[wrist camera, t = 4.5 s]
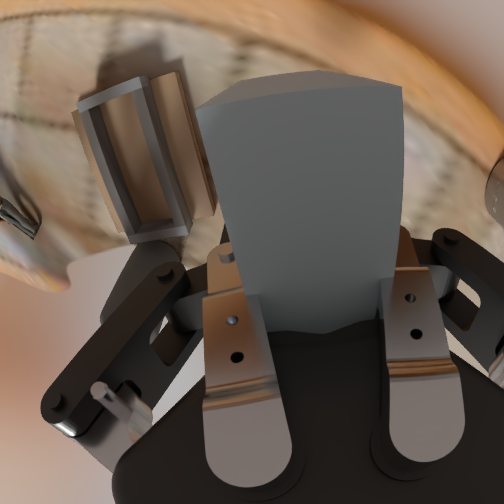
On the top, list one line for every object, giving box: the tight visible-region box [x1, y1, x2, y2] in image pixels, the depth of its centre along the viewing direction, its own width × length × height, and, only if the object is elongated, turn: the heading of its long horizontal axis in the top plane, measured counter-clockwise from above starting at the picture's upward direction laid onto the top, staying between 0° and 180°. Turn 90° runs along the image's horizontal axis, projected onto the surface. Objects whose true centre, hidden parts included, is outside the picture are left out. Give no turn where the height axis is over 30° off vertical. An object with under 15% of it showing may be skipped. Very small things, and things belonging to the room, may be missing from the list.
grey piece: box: [71, 71, 216, 244], centre depth 25 cm, size 11×15×3 cm
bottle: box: [100, 240, 180, 345], centre depth 27 cm, size 6×6×15 cm
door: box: [195, 70, 404, 334], centre depth 10 cm, size 3×11×8 cm, turn 11°
